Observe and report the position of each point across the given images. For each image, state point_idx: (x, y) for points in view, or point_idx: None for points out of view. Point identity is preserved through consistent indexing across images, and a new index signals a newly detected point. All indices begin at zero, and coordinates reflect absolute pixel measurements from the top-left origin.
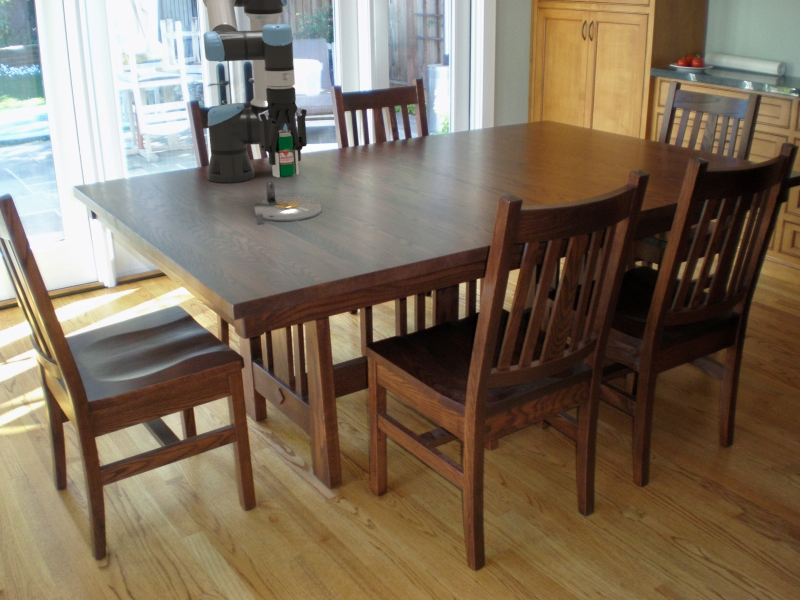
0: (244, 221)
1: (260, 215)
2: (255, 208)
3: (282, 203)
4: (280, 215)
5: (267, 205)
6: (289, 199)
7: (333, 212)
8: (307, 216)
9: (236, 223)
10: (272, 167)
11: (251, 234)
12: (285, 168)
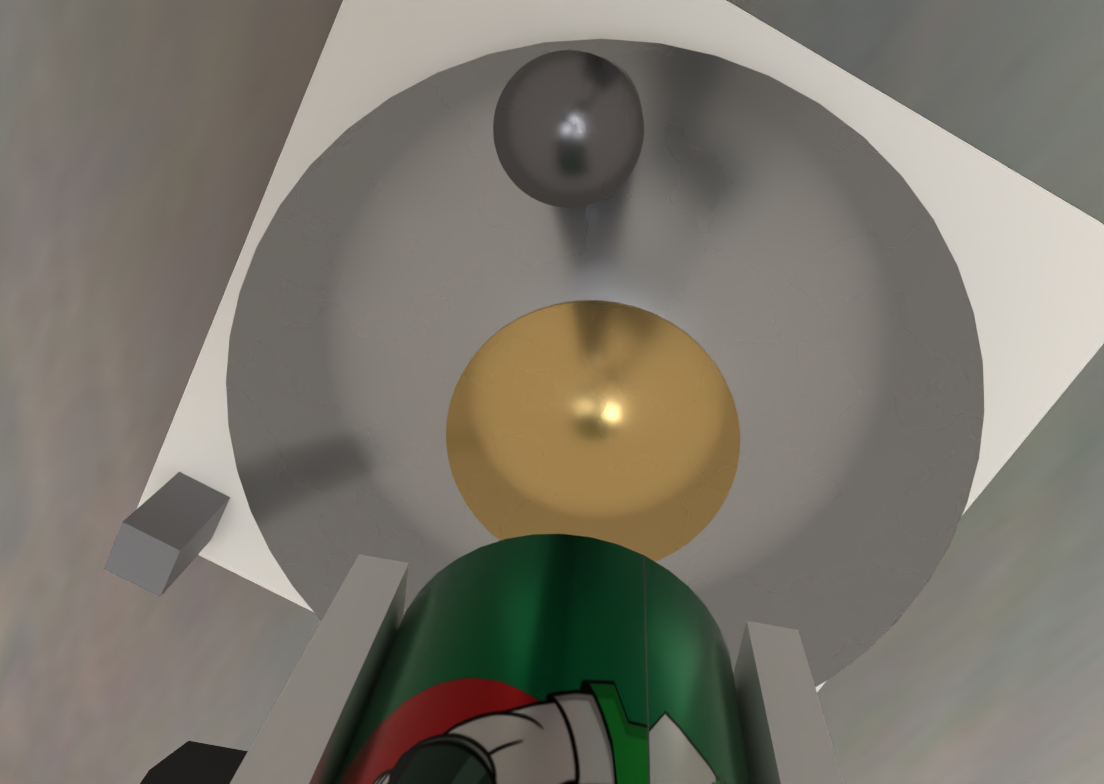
0: (186, 204)
1: (141, 580)
2: (240, 299)
3: (569, 376)
4: None
5: (409, 293)
6: (765, 263)
7: (1006, 573)
8: None
9: (94, 206)
10: (307, 653)
11: (79, 563)
12: None
